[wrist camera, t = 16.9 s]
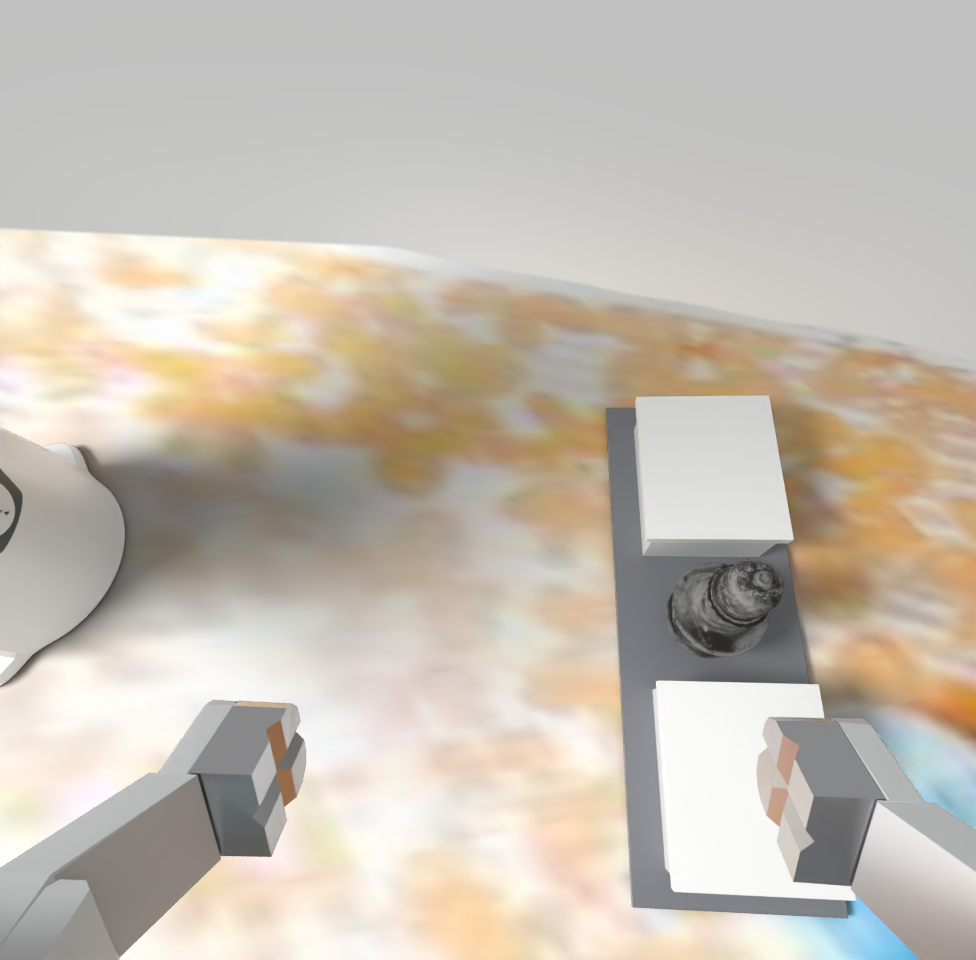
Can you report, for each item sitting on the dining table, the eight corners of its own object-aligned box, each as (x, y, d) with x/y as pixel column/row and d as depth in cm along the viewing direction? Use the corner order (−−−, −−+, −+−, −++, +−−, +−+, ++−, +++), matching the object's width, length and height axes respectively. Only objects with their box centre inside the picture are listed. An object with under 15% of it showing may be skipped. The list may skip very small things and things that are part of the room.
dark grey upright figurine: (723, 563, 42) (790, 503, 31) (766, 644, 40) (855, 610, 29) (646, 592, 42) (687, 542, 31) (685, 676, 40) (744, 654, 29)
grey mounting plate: (631, 905, 36) (647, 932, 31) (605, 411, 48) (614, 375, 43) (844, 915, 35) (895, 946, 30) (760, 409, 47) (787, 372, 42)
